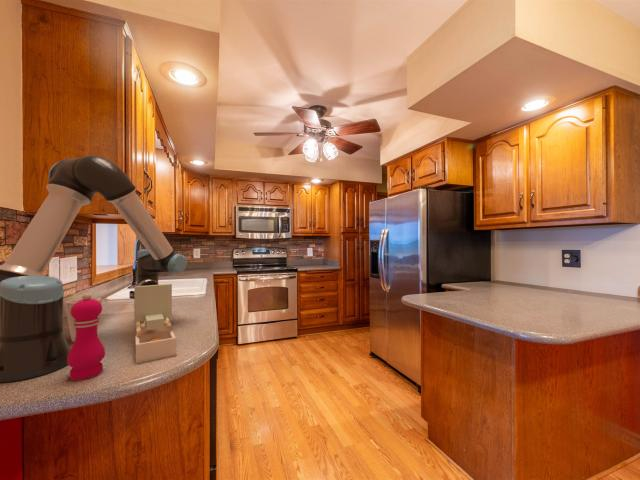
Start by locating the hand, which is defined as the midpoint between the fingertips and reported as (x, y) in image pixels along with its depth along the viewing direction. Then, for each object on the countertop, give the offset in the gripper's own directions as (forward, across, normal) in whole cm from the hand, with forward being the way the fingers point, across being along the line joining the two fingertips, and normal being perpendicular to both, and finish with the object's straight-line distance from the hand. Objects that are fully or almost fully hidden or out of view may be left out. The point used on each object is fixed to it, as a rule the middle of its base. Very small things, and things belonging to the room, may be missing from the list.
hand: (153, 300), depth 89 cm
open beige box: (+9, 0, -14) cm, 17 cm away
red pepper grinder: (-20, +19, -14) cm, 31 cm away
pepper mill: (+14, +15, -14) cm, 25 cm away
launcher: (-2, 0, -14) cm, 14 cm away
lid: (+5, 0, -7) cm, 8 cm away
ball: (+8, 0, -12) cm, 14 cm away
